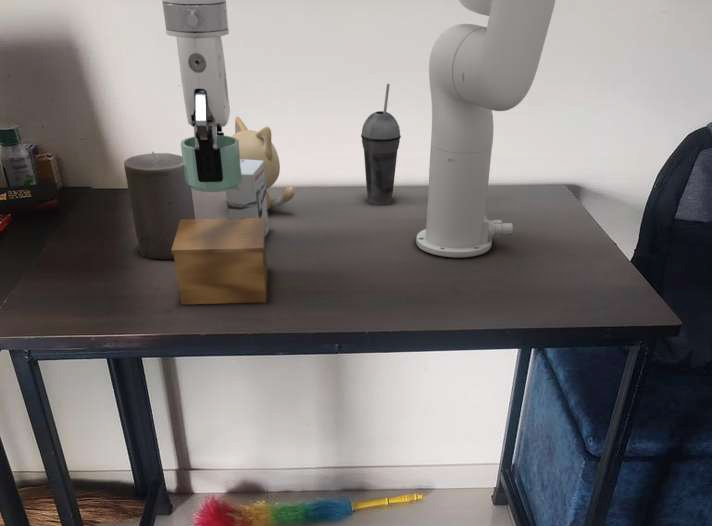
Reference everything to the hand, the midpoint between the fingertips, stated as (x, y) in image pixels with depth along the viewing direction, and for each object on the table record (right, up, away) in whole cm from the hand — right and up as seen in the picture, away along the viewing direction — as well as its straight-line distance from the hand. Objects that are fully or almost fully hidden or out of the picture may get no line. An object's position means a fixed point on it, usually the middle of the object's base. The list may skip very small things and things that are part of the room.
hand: (212, 171), depth 104 cm
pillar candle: (-12, -4, +22) cm, 25 cm away
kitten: (-1, +9, +38) cm, 39 cm away
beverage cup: (+23, +13, +43) cm, 50 cm away
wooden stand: (0, -13, +10) cm, 16 cm away
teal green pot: (0, -1, +1) cm, 2 cm away
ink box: (+1, 0, +26) cm, 26 cm away
